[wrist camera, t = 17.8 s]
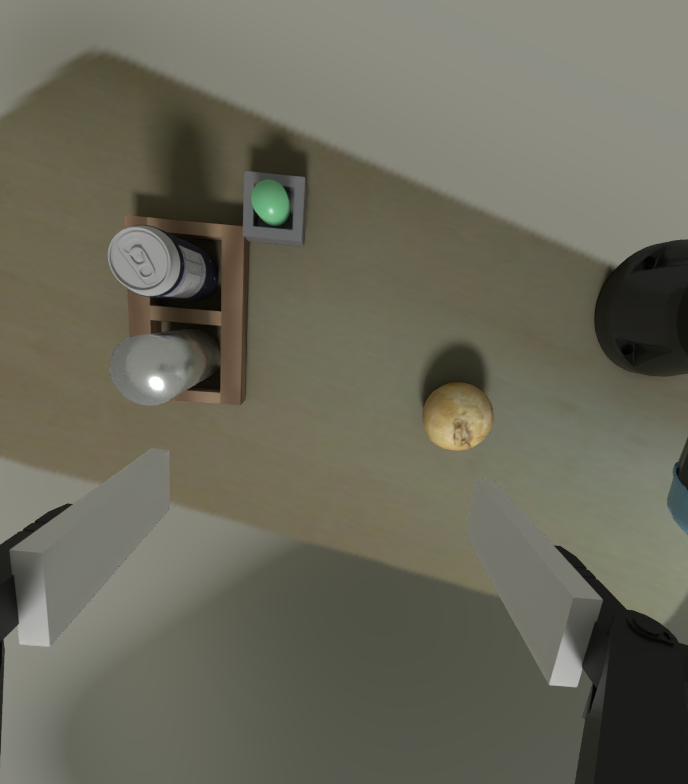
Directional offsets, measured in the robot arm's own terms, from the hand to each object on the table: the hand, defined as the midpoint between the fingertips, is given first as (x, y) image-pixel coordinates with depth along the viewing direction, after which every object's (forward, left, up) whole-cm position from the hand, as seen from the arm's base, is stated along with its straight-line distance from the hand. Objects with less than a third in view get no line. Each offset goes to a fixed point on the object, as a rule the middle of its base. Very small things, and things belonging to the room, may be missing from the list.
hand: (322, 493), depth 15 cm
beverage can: (+16, -10, -29) cm, 35 cm away
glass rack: (+16, -6, -29) cm, 33 cm away
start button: (+7, -17, -26) cm, 32 cm away
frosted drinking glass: (+16, -1, -29) cm, 33 cm away
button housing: (+7, -17, -29) cm, 34 cm away
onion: (-15, +3, -29) cm, 33 cm away
